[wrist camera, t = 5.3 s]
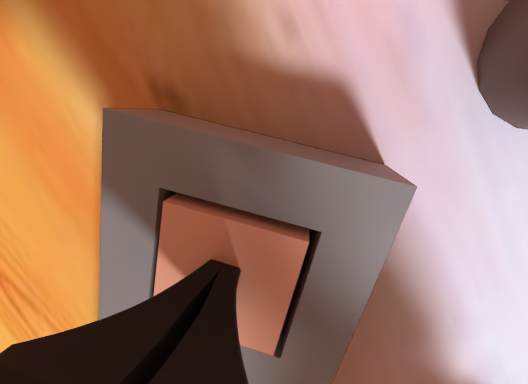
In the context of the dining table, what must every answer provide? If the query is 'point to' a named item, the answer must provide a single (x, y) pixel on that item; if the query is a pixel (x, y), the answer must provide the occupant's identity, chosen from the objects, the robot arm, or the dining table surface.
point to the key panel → (258, 202)
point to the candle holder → (507, 65)
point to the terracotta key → (235, 260)
